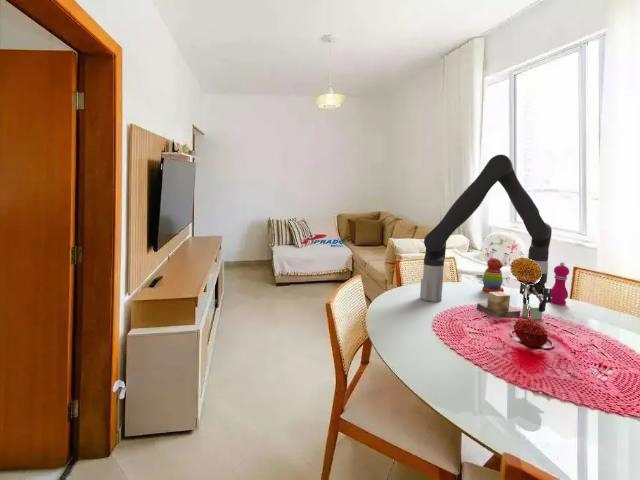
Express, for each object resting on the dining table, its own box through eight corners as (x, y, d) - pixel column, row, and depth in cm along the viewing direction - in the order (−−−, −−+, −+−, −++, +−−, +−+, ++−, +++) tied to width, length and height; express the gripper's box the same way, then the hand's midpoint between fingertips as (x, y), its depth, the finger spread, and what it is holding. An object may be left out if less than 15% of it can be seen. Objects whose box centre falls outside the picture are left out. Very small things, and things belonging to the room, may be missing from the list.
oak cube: (496, 309, 149) (497, 296, 148) (487, 305, 155) (488, 292, 154) (508, 309, 150) (510, 295, 149) (499, 304, 156) (500, 291, 155)
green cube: (530, 319, 144) (532, 307, 143) (522, 315, 149) (523, 304, 148) (541, 319, 145) (542, 307, 144) (532, 314, 149) (533, 303, 149)
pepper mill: (565, 302, 168) (570, 261, 165) (568, 306, 161) (573, 264, 158) (547, 300, 171) (552, 260, 168) (550, 304, 164) (554, 262, 161)
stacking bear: (502, 295, 178) (505, 261, 176) (480, 291, 183) (483, 258, 181) (503, 290, 187) (506, 257, 185) (483, 287, 192) (485, 255, 190)
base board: (494, 316, 146) (494, 312, 146) (477, 307, 158) (477, 303, 157) (519, 315, 148) (520, 311, 148) (500, 306, 160) (501, 302, 159)
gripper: (516, 267, 150) (513, 303, 152) (542, 274, 136) (538, 314, 138) (531, 266, 152) (528, 302, 154) (559, 274, 138) (555, 313, 140)
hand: (533, 308), depth 146 cm, fingers open, 8 cm apart
